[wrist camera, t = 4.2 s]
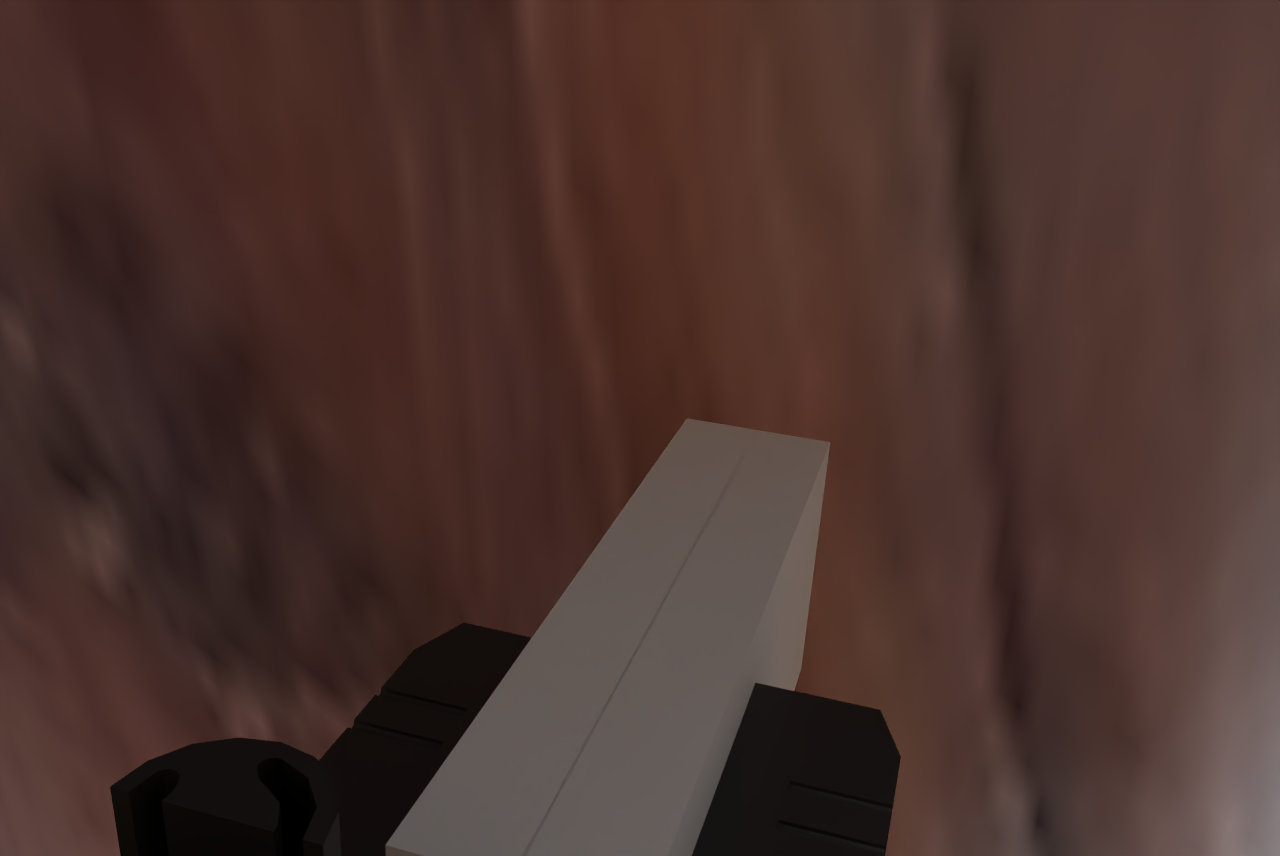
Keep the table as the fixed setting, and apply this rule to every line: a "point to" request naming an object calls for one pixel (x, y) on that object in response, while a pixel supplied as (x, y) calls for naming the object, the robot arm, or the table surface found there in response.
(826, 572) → the table surface
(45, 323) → the table surface
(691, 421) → the robot arm
